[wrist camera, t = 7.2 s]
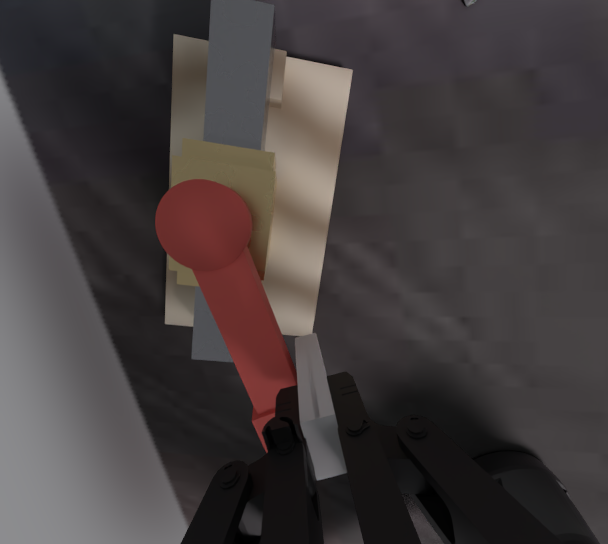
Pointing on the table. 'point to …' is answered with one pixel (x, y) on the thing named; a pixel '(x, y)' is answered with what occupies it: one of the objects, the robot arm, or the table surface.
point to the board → (289, 170)
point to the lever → (228, 284)
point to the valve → (233, 141)
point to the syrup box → (469, 2)
